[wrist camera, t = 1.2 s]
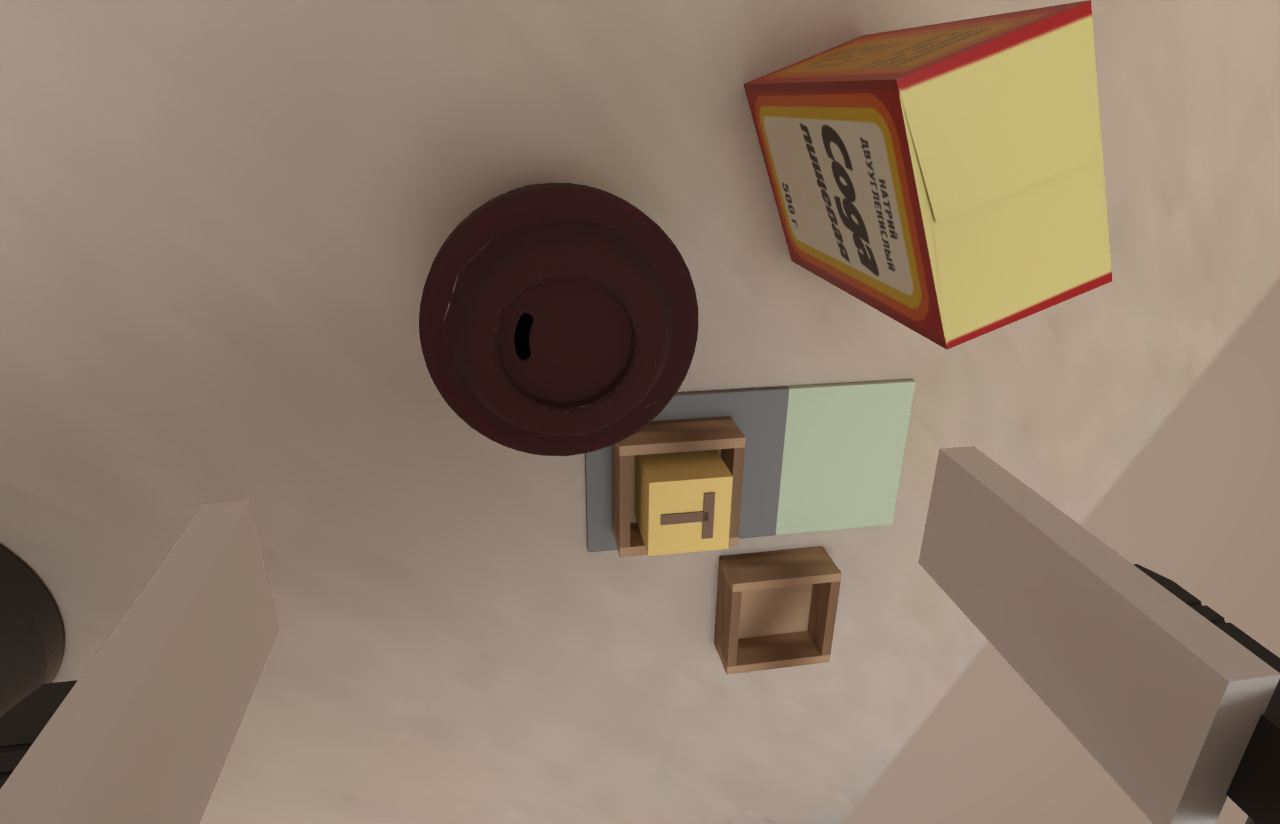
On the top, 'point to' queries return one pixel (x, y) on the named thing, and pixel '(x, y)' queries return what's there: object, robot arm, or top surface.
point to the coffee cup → (558, 319)
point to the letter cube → (682, 501)
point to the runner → (792, 456)
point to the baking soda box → (945, 168)
